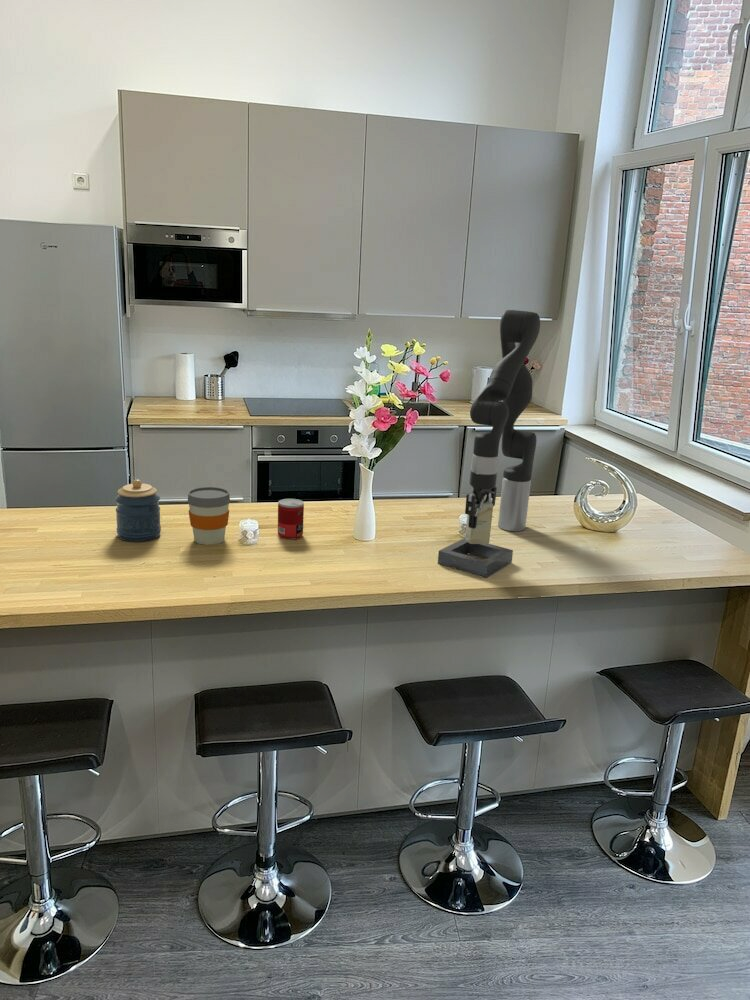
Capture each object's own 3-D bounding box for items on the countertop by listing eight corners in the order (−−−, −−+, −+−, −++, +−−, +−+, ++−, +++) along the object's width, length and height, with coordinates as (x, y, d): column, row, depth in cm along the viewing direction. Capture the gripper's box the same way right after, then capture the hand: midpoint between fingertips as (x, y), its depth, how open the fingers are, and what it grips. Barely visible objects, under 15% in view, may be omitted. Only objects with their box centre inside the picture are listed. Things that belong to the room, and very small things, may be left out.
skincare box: (470, 544, 225) (473, 504, 221) (464, 539, 229) (467, 499, 225) (490, 543, 226) (494, 503, 223) (484, 538, 230) (488, 499, 227)
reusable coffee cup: (235, 534, 242) (235, 488, 238) (223, 548, 230) (223, 500, 226) (195, 531, 243) (195, 485, 239) (182, 545, 231) (181, 496, 227)
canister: (154, 543, 231) (152, 486, 226) (110, 541, 231) (107, 484, 226) (166, 529, 244) (164, 475, 238) (124, 527, 244) (122, 472, 238)
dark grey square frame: (464, 549, 240) (465, 537, 239) (511, 562, 231) (513, 550, 230) (437, 563, 228) (438, 550, 227) (486, 578, 219) (487, 565, 218)
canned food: (301, 540, 241) (302, 506, 237) (275, 538, 241) (276, 505, 237) (304, 532, 248) (305, 499, 245) (279, 530, 248) (279, 497, 245)
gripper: (484, 463, 229) (479, 516, 234) (459, 471, 218) (455, 527, 222) (507, 468, 225) (501, 521, 230) (483, 477, 214) (478, 533, 218)
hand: (478, 524), depth 226 cm, fingers closed on skincare box, 7 cm apart
